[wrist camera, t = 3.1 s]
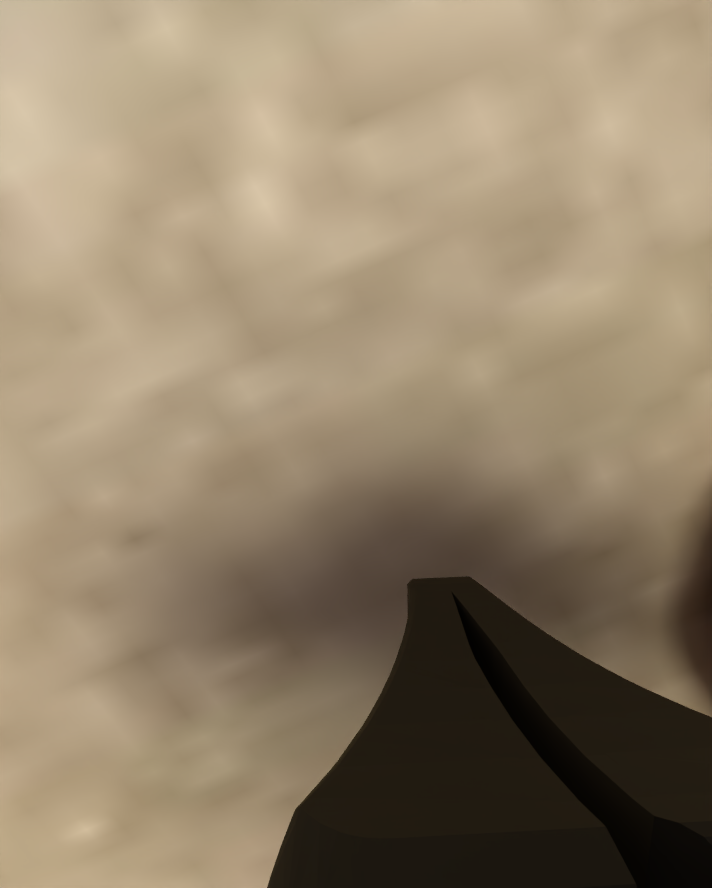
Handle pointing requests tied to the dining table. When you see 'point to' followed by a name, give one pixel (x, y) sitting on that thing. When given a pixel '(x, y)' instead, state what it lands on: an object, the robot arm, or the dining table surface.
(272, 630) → the dining table surface
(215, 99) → the dining table surface
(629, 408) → the dining table surface
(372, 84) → the dining table surface
